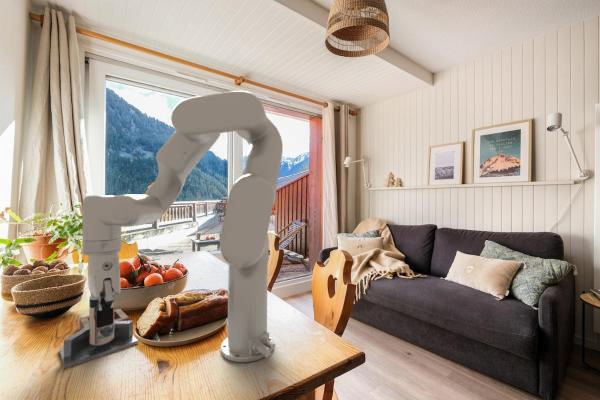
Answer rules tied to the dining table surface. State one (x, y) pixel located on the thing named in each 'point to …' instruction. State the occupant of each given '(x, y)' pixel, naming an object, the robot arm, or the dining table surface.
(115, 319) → the grey square frame
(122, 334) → the v block
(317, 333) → the dining table surface
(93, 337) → the beer can
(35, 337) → the dining table surface
